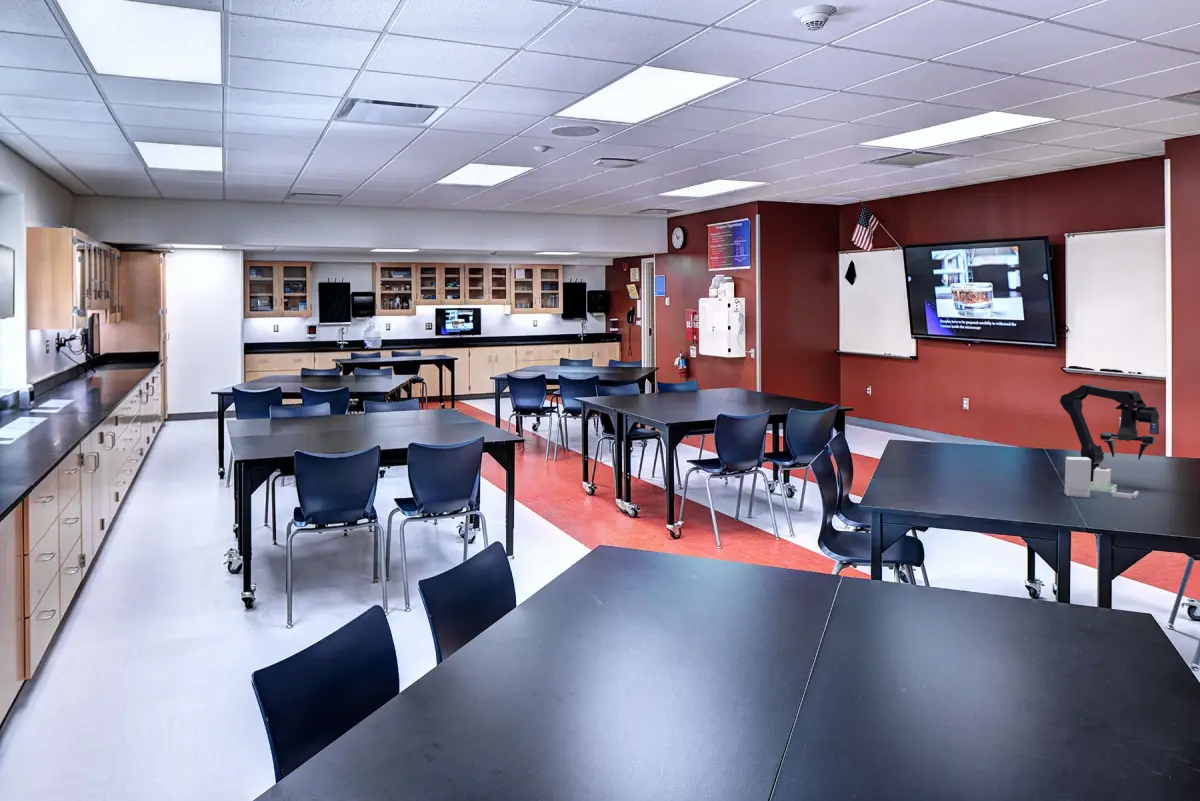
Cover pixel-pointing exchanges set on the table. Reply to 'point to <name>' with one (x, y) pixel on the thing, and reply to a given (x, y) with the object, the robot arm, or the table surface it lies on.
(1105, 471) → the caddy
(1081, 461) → the skincare box
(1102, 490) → the tray
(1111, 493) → the dock
